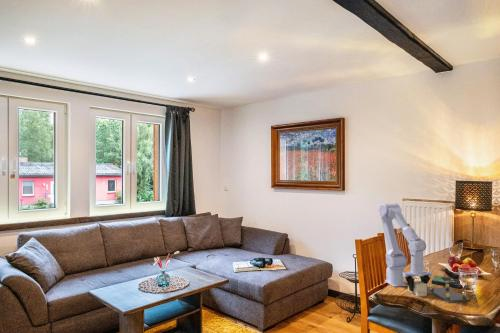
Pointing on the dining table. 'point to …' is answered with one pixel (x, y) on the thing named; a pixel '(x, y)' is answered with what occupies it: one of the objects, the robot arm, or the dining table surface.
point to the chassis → (448, 294)
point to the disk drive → (446, 282)
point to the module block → (419, 288)
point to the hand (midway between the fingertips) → (417, 290)
